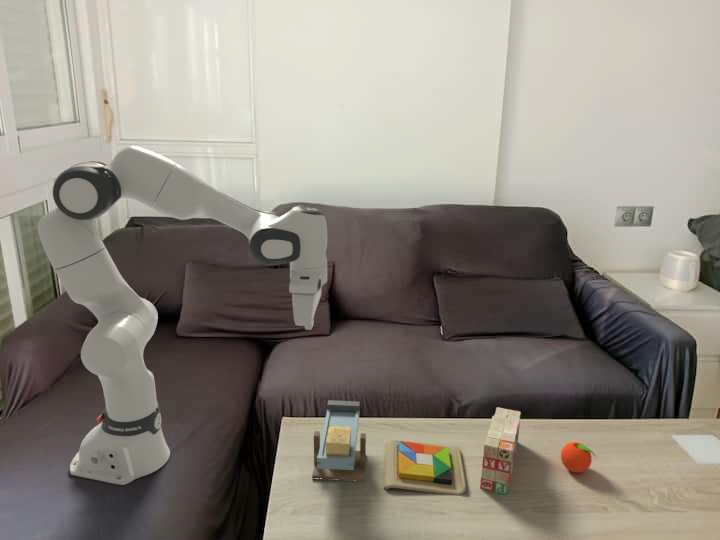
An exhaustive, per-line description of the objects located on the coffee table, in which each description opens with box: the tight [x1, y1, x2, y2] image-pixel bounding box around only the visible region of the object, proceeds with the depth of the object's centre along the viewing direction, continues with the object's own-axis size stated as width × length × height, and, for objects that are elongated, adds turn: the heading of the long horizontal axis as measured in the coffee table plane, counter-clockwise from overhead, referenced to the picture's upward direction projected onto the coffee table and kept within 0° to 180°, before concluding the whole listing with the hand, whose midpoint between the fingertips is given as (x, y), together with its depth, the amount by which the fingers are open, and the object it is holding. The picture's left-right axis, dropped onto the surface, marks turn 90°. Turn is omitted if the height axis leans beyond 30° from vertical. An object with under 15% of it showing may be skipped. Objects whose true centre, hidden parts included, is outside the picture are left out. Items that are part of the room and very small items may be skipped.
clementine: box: [560, 441, 597, 473], centre depth 136 cm, size 8×7×7 cm
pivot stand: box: [311, 430, 367, 482], centre depth 136 cm, size 10×12×9 cm
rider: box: [326, 426, 351, 457], centre depth 126 cm, size 6×5×5 cm
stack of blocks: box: [479, 407, 522, 496], centre depth 137 cm, size 21×6×12 cm, turn 159°
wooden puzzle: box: [382, 439, 467, 496], centre depth 137 cm, size 18×19×4 cm
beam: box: [317, 399, 361, 470], centre depth 134 cm, size 22×8×3 cm, turn 177°
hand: (309, 327), depth 139 cm, fingers closed
